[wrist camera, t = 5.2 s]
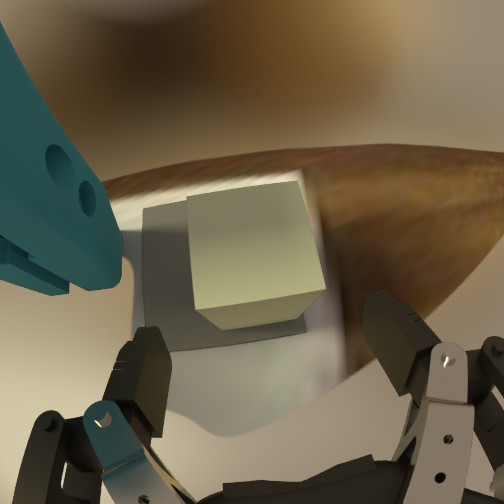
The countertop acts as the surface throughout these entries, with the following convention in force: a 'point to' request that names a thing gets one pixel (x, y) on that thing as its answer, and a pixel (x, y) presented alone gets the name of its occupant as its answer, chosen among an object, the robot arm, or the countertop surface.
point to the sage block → (252, 255)
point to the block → (48, 196)
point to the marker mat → (186, 288)
